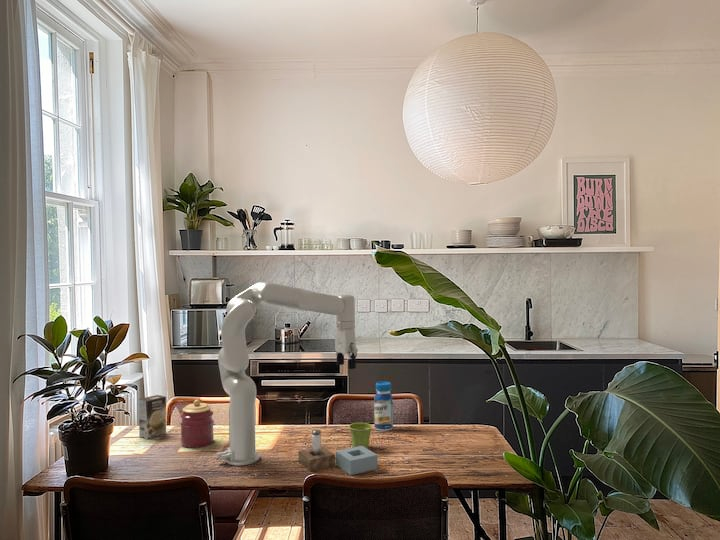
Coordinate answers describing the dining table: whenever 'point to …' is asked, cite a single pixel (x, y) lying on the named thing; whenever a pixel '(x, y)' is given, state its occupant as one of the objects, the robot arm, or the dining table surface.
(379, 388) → the beverage bottle
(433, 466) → the dining table surface
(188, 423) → the canister
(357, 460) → the dock block
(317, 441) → the pin
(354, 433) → the plant pot
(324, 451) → the mount block
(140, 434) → the coffee box
